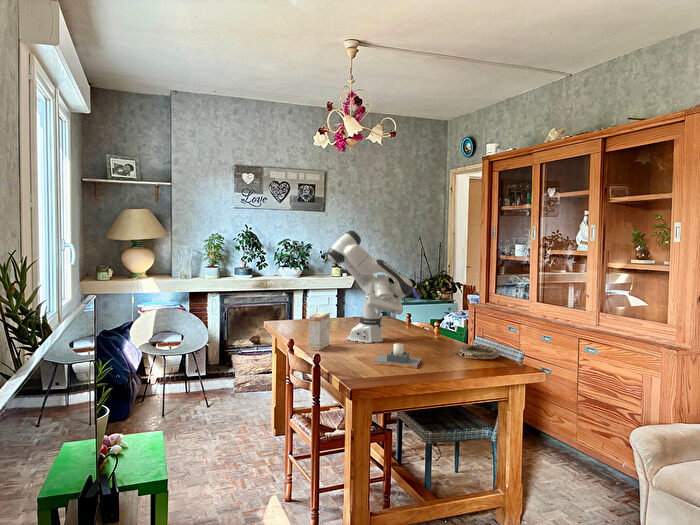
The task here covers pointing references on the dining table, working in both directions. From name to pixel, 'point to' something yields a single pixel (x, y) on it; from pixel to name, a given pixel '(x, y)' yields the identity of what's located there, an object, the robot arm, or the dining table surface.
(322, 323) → the coffeecake box
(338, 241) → the robot arm
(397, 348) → the paper roll
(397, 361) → the roll caddy
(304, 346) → the dining table surface
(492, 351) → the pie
